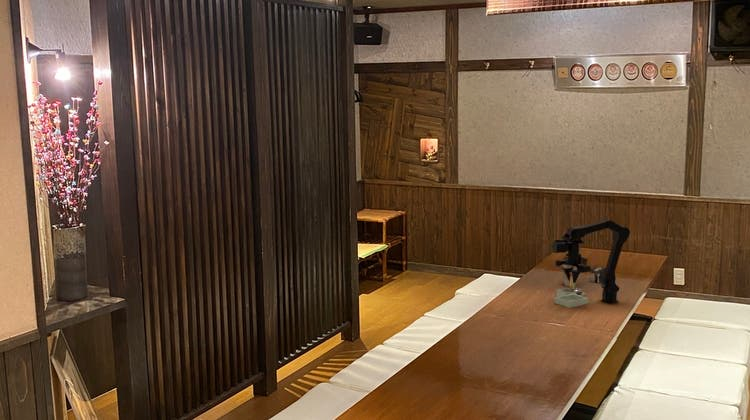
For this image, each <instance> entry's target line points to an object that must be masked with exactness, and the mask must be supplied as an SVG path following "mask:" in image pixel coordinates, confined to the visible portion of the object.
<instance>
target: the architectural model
mask: <svg viewBox="0 0 750 420" xmlns="http://www.w3.org/2000/svg"><path fill="white" fill-rule="evenodd" d="M605 268H606V267H601V266H599V265H598V266H594V267H593V268H591V271H590V273H591V274H592V283H595V282H596V281H597V283H599V279H598V277H599V275H600V271H602V272H603V271H604V270H605ZM599 284H600V283H599Z"/></svg>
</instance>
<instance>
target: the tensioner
mask: <svg viewBox="0 0 750 420" xmlns="http://www.w3.org/2000/svg"><path fill="white" fill-rule="evenodd" d="M569 289H570V288H568V287H565V288H564V287H563V288H559V289H556V297H559V296H564V295H568V294H576V295H580V296H583V297H586V296H587V295H588V294H587V293H586V292H583V290H582V289H581V288H578V287H574V292H570V291H569Z"/></svg>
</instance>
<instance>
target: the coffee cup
mask: <svg viewBox="0 0 750 420" xmlns="http://www.w3.org/2000/svg"><path fill="white" fill-rule="evenodd" d="M562 259H565V260H567V256H564V257H562ZM573 270H575V268H573ZM562 271H563V272H562V273H563V281H564V286H567V287H570V282H569V280H568V278H567V276H566V274H565V272H564V270H563V269H562ZM577 281H578V280H577ZM577 281H576V283H575V287H576V286H577V283H578V282H577Z"/></svg>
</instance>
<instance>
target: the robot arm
mask: <svg viewBox="0 0 750 420" xmlns="http://www.w3.org/2000/svg"><path fill="white" fill-rule="evenodd" d="M606 229H609V230H610V231H612V245H611V247H610V248H611V249H610V252H609V255H608V258H607V261H606V265H605V267H604V268H605V270H604V271H603V272H602V271H600V275H599V277H598V279H599V284H600V285H601V288H602V295H601V299H600V302H604V303H608V304H610V305H611V304H614V303H619V300H618V297H617V296H618V292H619V291H620V287H619V286H618V285H617V283H616V279H617V277H616V269H617V265H618V262H619V258H620V255H621V252H622V248H623V246H624V244H625V243H626V242H628V239H629V237H630V235H631V231H630V229H629V228H628V227H625V226H623V225H622V224H621V225H620V224H617V223H616V222H614V221H613V220H612V219H609V218H605V219H603V220H600V221H596V222H593V223H590V224H586V225H573V226H571V225H570V226H569V227H568V228H567V230H566V232H565V233H564V235H563V237H562V238H560V239H559V238H554V239H553V240H554V241H553V242H552V245H551V248H552V252H553V253H554V254H559V253H560V254H561V253H563V254H564V253H565V257H567V260H565V259H563V258H561V259H557V260H555V266H556V267H559V268H560V267H561V266H562V267H561V269H562V271H563V270H564V272H565V274H566V276H567V278H568V280H569V282H570V274H569V271H572V277H573V283H576V284H577V282H576V281H578V278H579V276H580V274H581V273H584V274H585V273H591V269H592V267H591V265H589V264H588V260H589V259H588V258H585V257H582V254H581V253H580V249H581V248H580V245H581V244H585V242H584V241H583V240H582V238H584V237H585V236H587V235H588V234H592V233H596V232H599V231H604V230H606ZM573 268H575V270H573ZM598 279H597V280H598Z"/></svg>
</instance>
